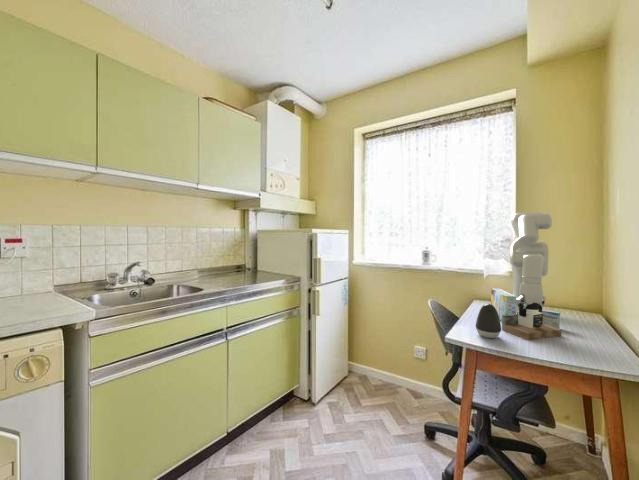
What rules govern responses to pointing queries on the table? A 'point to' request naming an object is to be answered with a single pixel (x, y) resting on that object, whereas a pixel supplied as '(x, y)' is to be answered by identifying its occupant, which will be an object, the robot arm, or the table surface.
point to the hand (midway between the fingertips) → (530, 315)
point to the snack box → (503, 302)
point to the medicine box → (551, 318)
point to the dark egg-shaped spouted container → (488, 322)
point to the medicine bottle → (531, 317)
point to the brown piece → (527, 329)
